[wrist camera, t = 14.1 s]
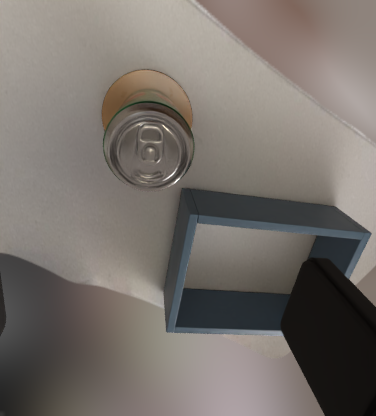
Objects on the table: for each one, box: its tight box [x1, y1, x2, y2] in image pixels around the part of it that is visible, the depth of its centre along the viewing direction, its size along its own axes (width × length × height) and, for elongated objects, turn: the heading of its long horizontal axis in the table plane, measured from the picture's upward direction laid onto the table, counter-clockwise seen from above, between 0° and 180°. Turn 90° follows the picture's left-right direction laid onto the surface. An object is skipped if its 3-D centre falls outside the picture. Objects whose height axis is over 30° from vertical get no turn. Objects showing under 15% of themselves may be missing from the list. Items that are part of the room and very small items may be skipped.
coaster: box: [102, 70, 192, 130], centre depth 26 cm, size 8×8×1 cm
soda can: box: [103, 89, 194, 192], centre depth 21 cm, size 5×5×12 cm
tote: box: [164, 188, 372, 336], centre depth 31 cm, size 18×14×6 cm
